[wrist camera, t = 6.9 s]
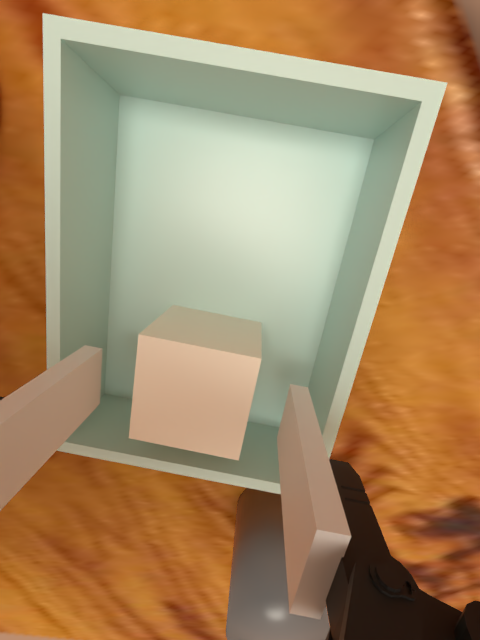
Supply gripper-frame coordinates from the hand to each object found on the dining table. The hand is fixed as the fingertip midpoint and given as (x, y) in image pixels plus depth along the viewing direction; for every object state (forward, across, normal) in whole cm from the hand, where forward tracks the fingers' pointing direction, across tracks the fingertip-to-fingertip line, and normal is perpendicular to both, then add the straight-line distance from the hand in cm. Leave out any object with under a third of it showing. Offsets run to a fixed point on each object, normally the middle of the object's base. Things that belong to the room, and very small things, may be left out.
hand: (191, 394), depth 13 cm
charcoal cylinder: (+5, +6, -11) cm, 14 cm away
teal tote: (+5, 0, +4) cm, 7 cm away
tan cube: (+5, 0, 0) cm, 5 cm away
